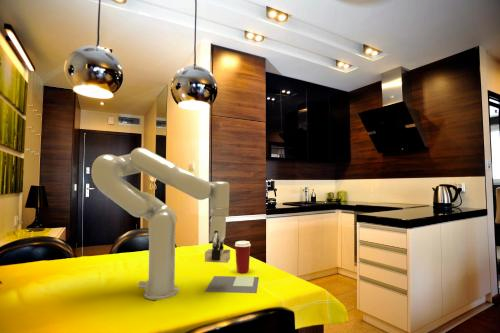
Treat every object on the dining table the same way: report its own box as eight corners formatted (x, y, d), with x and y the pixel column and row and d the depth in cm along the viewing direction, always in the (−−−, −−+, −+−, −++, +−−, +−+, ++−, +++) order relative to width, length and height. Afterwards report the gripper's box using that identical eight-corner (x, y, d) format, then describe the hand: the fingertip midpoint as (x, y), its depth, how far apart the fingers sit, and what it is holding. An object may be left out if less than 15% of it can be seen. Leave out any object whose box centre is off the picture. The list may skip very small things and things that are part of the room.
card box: (204, 261, 106) (204, 252, 106) (208, 257, 112) (208, 248, 112) (227, 262, 105) (227, 253, 105) (229, 258, 111) (230, 249, 111)
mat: (204, 292, 104) (204, 291, 104) (214, 276, 122) (214, 275, 122) (256, 294, 102) (256, 292, 102) (258, 277, 120) (258, 276, 120)
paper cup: (254, 272, 128) (254, 242, 129) (242, 276, 122) (242, 244, 123) (242, 268, 133) (242, 239, 134) (230, 272, 128) (231, 242, 129)
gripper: (214, 210, 118) (212, 252, 117) (204, 214, 101) (202, 263, 100) (231, 210, 118) (230, 253, 117) (224, 214, 101) (223, 264, 99)
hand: (217, 257), depth 108 cm, fingers closed on card box, 6 cm apart
